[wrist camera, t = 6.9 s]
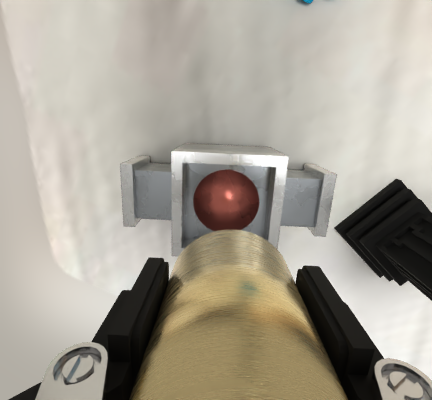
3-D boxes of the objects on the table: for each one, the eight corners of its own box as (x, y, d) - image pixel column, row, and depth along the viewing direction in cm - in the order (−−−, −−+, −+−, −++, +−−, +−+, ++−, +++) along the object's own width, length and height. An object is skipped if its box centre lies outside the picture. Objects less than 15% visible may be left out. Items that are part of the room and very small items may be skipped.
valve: (140, 140, 27) (107, 147, 19) (315, 149, 27) (352, 159, 19) (142, 219, 30) (115, 253, 22) (303, 227, 29) (332, 264, 22)
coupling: (171, 226, 11) (82, 408, 4) (297, 232, 10) (430, 428, 4) (171, 329, 12) (106, 595, 5) (282, 335, 12) (359, 611, 5)
